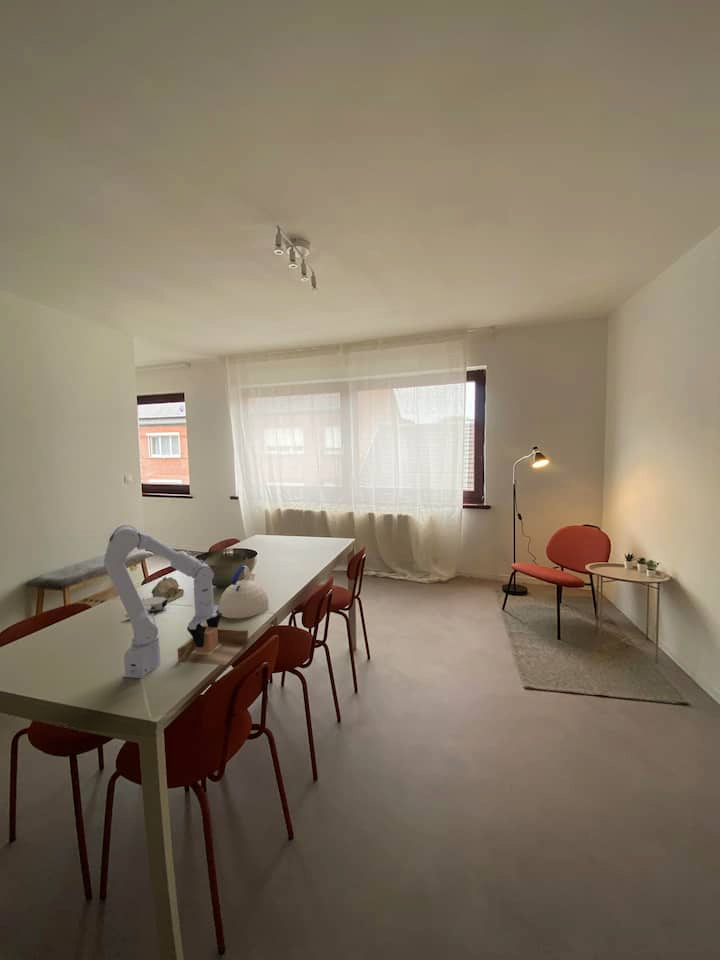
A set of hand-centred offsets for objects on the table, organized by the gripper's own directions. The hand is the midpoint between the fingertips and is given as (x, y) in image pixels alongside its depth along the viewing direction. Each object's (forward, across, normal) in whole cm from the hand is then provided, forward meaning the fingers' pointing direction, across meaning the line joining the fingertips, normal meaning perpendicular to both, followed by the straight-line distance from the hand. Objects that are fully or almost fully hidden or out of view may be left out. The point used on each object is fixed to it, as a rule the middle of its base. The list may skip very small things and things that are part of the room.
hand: (206, 641), depth 129 cm
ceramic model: (+4, +42, +46) cm, 62 cm away
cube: (+2, 0, 0) cm, 2 cm away
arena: (+3, -1, -4) cm, 5 cm away
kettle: (+4, +35, +4) cm, 35 cm away
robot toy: (+4, +26, +42) cm, 50 cm away
